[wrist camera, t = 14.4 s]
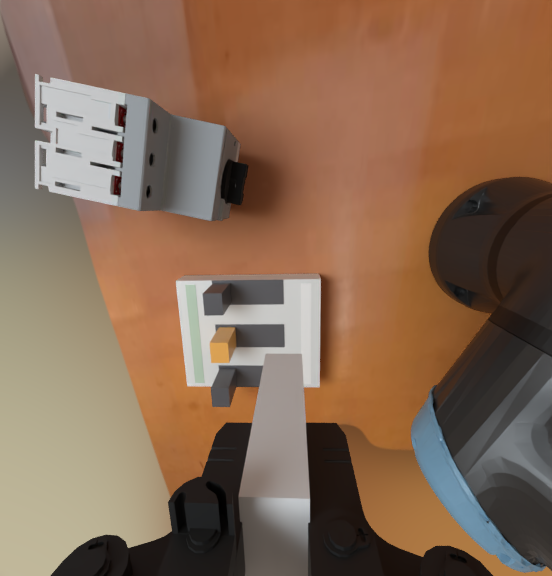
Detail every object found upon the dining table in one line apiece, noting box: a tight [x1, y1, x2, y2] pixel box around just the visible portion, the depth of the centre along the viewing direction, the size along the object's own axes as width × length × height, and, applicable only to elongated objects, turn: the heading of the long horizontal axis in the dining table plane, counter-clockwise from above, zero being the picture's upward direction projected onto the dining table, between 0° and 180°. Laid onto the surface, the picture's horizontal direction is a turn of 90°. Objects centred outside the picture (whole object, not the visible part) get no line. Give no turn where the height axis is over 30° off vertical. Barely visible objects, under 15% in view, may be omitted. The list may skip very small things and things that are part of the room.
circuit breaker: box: [35, 74, 248, 221], centre depth 29 cm, size 8×14×15 cm, turn 78°
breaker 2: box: [211, 368, 237, 407], centre depth 37 cm, size 2×2×4 cm
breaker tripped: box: [210, 327, 236, 363], centre depth 36 cm, size 2×2×4 cm
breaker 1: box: [203, 283, 231, 316], centre depth 34 cm, size 2×2×4 cm
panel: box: [176, 274, 321, 387], centre depth 39 cm, size 17×14×3 cm
